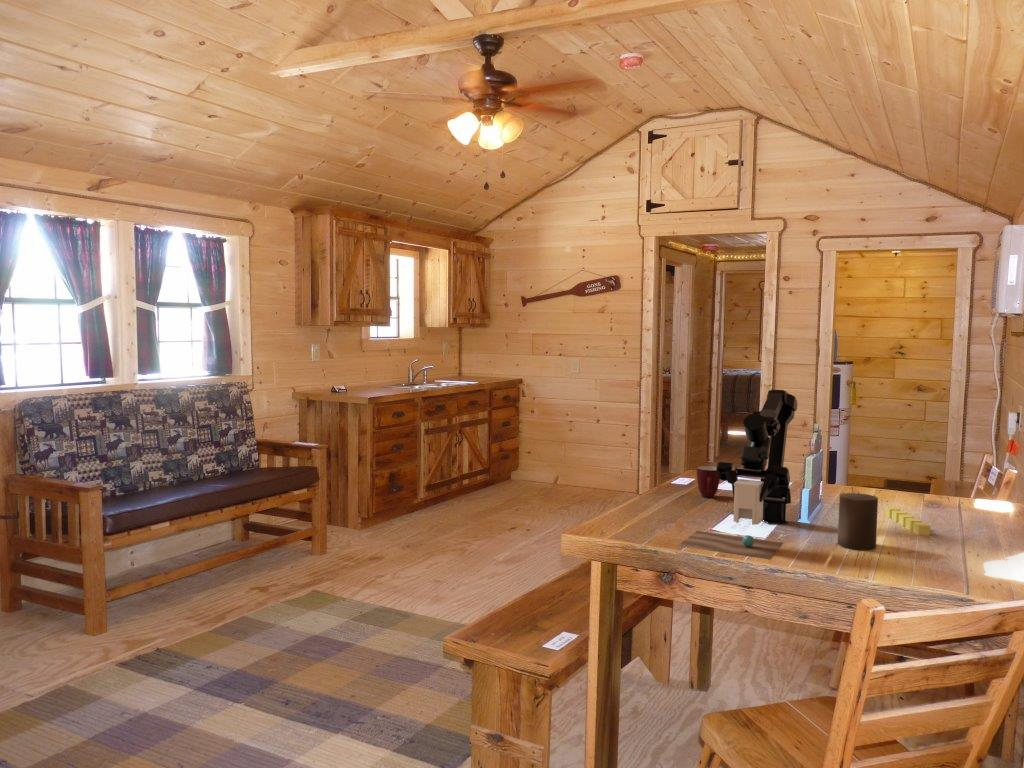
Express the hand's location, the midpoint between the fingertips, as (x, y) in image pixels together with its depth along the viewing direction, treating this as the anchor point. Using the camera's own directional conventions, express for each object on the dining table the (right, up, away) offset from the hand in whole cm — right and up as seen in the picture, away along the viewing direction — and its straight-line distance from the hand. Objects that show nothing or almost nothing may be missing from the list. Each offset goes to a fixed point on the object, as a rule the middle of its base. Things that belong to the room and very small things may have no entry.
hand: (747, 499), depth 208 cm
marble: (+1, -11, +2) cm, 12 cm away
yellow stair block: (+59, -13, +29) cm, 67 cm away
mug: (+6, -9, +65) cm, 66 cm away
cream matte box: (+1, -6, +2) cm, 6 cm away
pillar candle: (+32, -14, +6) cm, 35 cm away
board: (-3, -13, +4) cm, 14 cm away
